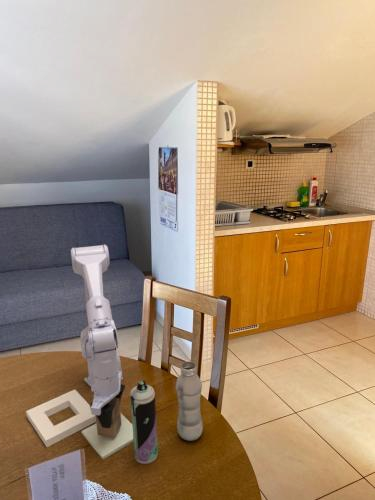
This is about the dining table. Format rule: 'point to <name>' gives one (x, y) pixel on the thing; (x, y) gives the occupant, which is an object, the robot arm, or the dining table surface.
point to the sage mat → (109, 438)
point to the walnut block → (114, 423)
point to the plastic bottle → (189, 402)
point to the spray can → (144, 423)
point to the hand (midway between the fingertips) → (110, 419)
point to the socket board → (67, 427)
